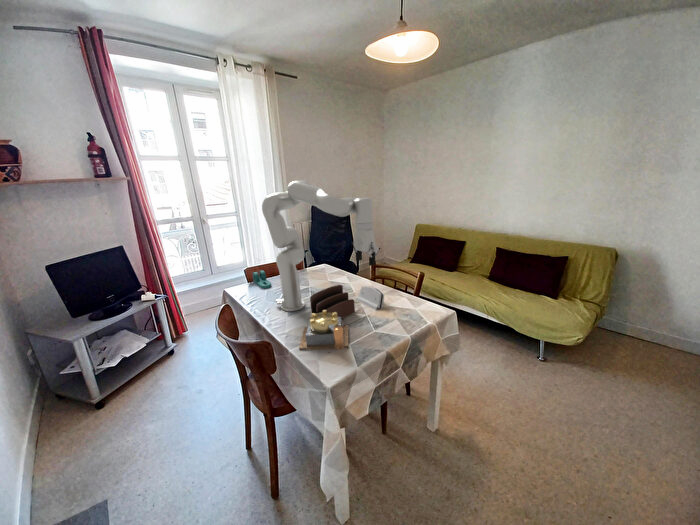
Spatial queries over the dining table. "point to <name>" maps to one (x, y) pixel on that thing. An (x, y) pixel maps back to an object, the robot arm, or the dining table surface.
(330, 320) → the gold rounded piece
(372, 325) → the dining table surface
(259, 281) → the bracket
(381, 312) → the dining table surface
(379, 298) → the hinge
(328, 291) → the letter holder
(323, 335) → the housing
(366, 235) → the robot arm
